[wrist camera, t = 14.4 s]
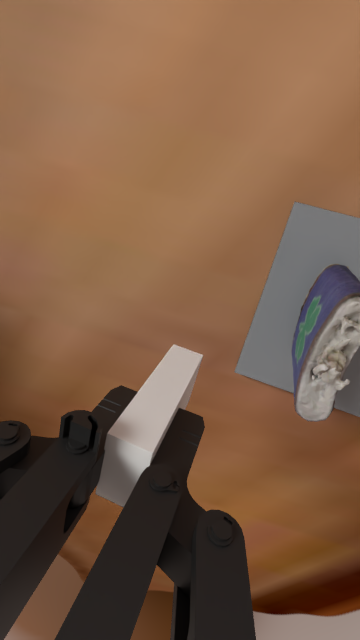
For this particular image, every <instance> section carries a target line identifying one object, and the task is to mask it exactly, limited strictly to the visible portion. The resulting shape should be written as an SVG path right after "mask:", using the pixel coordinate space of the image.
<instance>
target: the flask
mask: <svg viewBox="0 0 360 640" xmlns="http://www.w3.org/2000/svg"><path fill="white" fill-rule="evenodd" d="M359 347H360V281H359V280H358V278H357V277H356V276H355V275H354V274H353V273H352V272H351V271H350V270H349V266H347V267H346V266H345V265H340V264H330V265H328V266H327V267H326V268H324V269H323V271H322V272H321V273H320V274H319V275H318V276H317V278H316V280H315V282H314V283H313V285H312V287H311V288H310V289H309V293H308V294H307V295H306V298H305V300H304V303H303V305H302V307H301V312H300V316H299V319H298V322H297V326H296V330H295V332H294V337H293V342H292V350H291V354H292V365H293V383H294V405H295V411H296V412H297V414H298V415H299V416H301V417H302V418H304V419H305V420H307V421H320V420H326V419H327V418H328V417H329V415H330V413H331V412H332V411H333V408H334V404H335V398H336V394H337V391H338V390H341V389H343V388H344V387H345V386H346V385H349V383H350V381H349V379H346V380H345V381H342V380H343V376H344V374H345V372H346V370H347V368H348V366H349V364H350V363H351V360H352V358H353V356H354V355H355V353H356V352H357V350H358V349H359Z"/></svg>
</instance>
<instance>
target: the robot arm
mask: <svg viewBox="0 0 360 640" xmlns="http://www.w3.org/2000/svg"><path fill="white" fill-rule="evenodd" d="M202 357H203V355H201V354H199V353H196V352H193V351H190V350H188V349H185V348H182V347H179V346H177V345H174V344H173V346H172V347H171V348H170V350H169V351H168V352H167V354H166V355H165V356H164V358H163V359H162V361H161V362H160V363H159V365H158V366H157V367H156V369H155V370H154V371H153V373H152V374H151V375H150V377H149V378H148V379H147V381H146V382H145V383H144V385H143V386H142V387H141V389H140V390H139V391H138V392H136V391H134V390H131V389H129V388H126V387H124V386H119V387H117V388H115V389H112V390H111V391H110V392H109V393H108V394H107V395H106V396H105V397H104V399H103V400H102V401H101V402H100V403H99V404H98V406H96V407H95V409H94V410H93V411H92V412H89V411H85V410H75V411H72V412H68V413H67V414H65V415H64V416H62V417H61V425H60V433H59V438H45V437H38V436H31V432H30V429H29V428H28V426H27V425H26V424H24V423H22V422H19V421H12V420H11V421H3V422H0V640H4V638H5V636H6V635H7V634H8V632H9V630H10V629H11V627H12V626H13V624H14V623H15V621H16V619H17V618H18V616H19V615H20V613H21V611H22V610H23V608H24V606H25V605H26V603H27V602H28V600H29V599H30V597H31V595H32V594H33V592H34V591H35V589H36V588H37V586H38V584H39V583H40V581H41V580H42V578H43V577H44V575H45V573H46V572H47V570H48V569H49V567H50V565H51V564H52V562H53V561H54V559H55V557H56V556H57V554H58V553H59V551H60V550H61V548H62V546H63V545H64V543H65V542H66V540H67V538H68V537H69V535H70V534H71V532H72V531H73V529H74V527H75V526H76V524H77V523H78V521H79V519H80V518H81V516H82V515H83V513H84V512H85V510H86V508H87V505H88V503H89V498H90V495H91V493H92V492H93V490H94V489H95V487H96V486H97V489H96V494H97V495H99V496H101V497H103V498H105V499H107V500H109V501H112V502H114V503H116V504H118V505H120V506H122V507H124V508H123V510H122V512H121V514H120V515H119V517H118V519H117V521H116V523H115V525H114V527H113V529H112V531H111V533H110V535H109V536H108V538H107V540H106V542H105V544H104V546H103V548H102V550H101V552H100V554H99V556H98V558H97V559H96V561H95V563H94V565H93V567H92V569H91V571H90V573H89V575H88V577H87V579H86V581H85V582H84V584H83V586H82V588H81V590H80V592H79V594H78V596H77V598H76V600H75V602H74V604H73V605H72V608H71V609H70V612H69V613H68V615H67V617H66V619H65V621H64V623H63V625H62V627H61V628H60V631H59V632H58V634H57V636H56V638H55V640H130V638H131V636H132V633H133V630H134V627H135V624H136V622H137V618H138V616H139V613H140V610H141V607H142V605H143V602H144V599H145V596H146V593H147V590H148V588H149V585H150V582H151V579H152V576H153V573H154V571H155V568H156V565H158V566H159V567H160V568H161V569H162V570H163V571H164V573H165V574H166V575H167V576H168V577H169V578H170V579H171V580H172V581H173V582H174V595H173V609H172V624H171V640H256V636H255V628H254V619H253V610H252V601H251V593H250V584H249V575H248V567H247V558H246V549H245V540H244V536H243V532H242V529H241V527H240V526H239V524H238V523H237V521H236V520H235V519H234V518H233V517H232V516H230V515H229V514H228V513H225V512H223V511H221V510H209V511H207V512H206V511H205V510H204V509H203V508H202V507H200V506H199V505H198V504H197V503H196V502H195V501H194V500H193V498H192V497H191V495H190V494H189V491H188V488H187V477H188V474H189V471H190V468H191V465H192V462H193V459H194V457H195V454H196V451H197V448H198V445H199V442H200V439H201V437H202V434H203V431H204V428H205V426H204V421H203V417H201V416H199V415H196V414H194V413H191V412H189V411H186V410H185V408H186V406H187V404H188V402H189V399H190V396H191V393H192V389H193V386H194V383H195V380H196V377H197V373H198V370H199V367H200V364H201V360H202Z"/></svg>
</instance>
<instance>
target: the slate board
mask: <svg viewBox="0 0 360 640" xmlns="http://www.w3.org/2000/svg"><path fill="white" fill-rule="evenodd" d="M330 264H340V265H345V266H346V267H347V266H349V270H350V271H351V272H352V273H353V274H354V275H355V276H356V277H357V278H358V280H359V281H360V218H357V217H353V216H349V215H346V214H342V213H338V212H334V211H330V210H326V209H322V208H318V207H314V206H310V205H307V204H303V203H299V202H295V201H294V204H293V207H292V210H291V213H290V216H289V218H288V221H287V224H286V227H285V230H284V233H283V235H282V238H281V241H280V244H279V247H278V250H277V252H276V255H275V258H274V261H273V264H272V267H271V269H270V272H269V275H268V278H267V281H266V283H265V286H264V289H263V292H262V295H261V298H260V300H259V303H258V306H257V309H256V312H255V315H254V317H253V320H252V323H251V326H250V329H249V332H248V334H247V337H246V340H245V343H244V346H243V349H242V351H241V354H240V357H239V360H238V363H237V366H236V369H235V372H236V373H239V374H241V375H244V376H247V377H250V378H252V379H255V380H258V381H261V382H264V383H266V384H269V385H272V386H275V387H278V388H280V389H283V390H286V391H289V392H291V393H294V383H293V365H292V354H291V350H292V342H293V337H294V332H295V330H296V326H297V322H298V319H299V316H300V312H301V307H302V305H303V303H304V300H305V298H306V295H307V294H308V293H309V289H310V288H311V287H312V285H313V283H314V282H315V280H316V278H317V276H318V275H319V274H320V273H321V272H322V271H323V269H324V268H326V267H327V266H328V265H330ZM346 379H349V381H350V383H349V385H346V386H345V387H344V388H343V389H341V390H338V391H337V394H336V398H335V404H334V408H336V409H339V410H341V411H344V412H347V413H350V414H353V415H355V416H358V417H360V347H359V349H358V350H357V352H356V353H355V355H354V356H353V358H352V360H351V363H350V364H349V366H348V368H347V370H346V372H345V374H344V376H343V380H342V381H345V380H346Z"/></svg>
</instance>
